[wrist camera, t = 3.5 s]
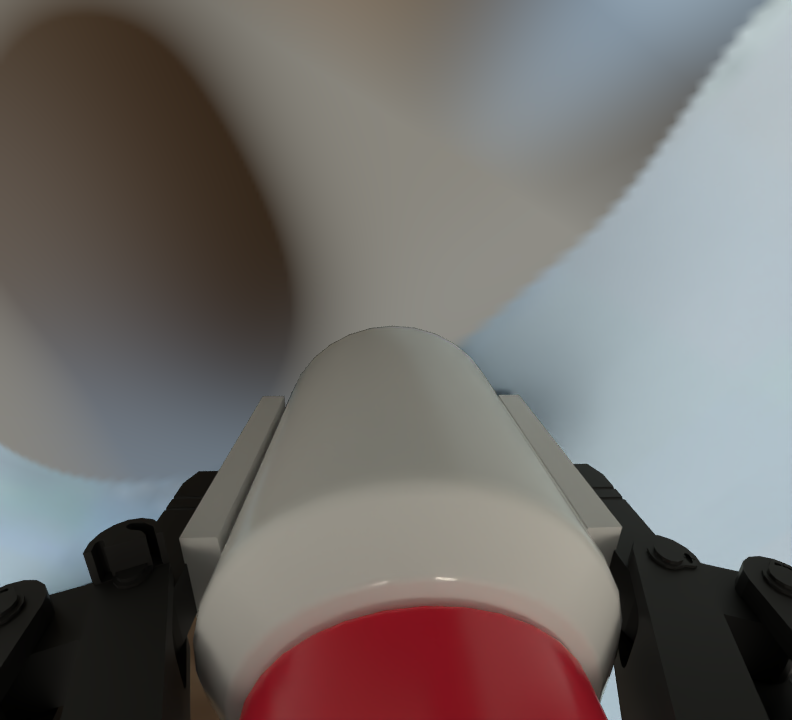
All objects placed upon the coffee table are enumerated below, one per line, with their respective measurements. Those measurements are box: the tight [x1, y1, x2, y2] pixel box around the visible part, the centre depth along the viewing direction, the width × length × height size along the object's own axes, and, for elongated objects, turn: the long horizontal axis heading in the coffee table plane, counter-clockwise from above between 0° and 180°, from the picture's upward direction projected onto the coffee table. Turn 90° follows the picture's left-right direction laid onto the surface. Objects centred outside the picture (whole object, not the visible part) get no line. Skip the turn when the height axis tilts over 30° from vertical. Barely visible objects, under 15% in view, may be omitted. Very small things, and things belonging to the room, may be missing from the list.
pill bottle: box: [193, 326, 622, 720], centre depth 10 cm, size 8×8×11 cm
